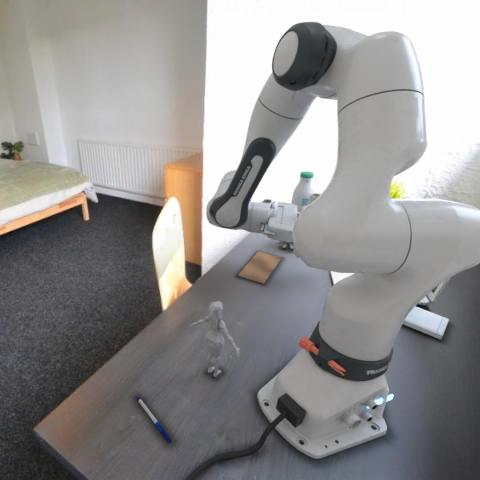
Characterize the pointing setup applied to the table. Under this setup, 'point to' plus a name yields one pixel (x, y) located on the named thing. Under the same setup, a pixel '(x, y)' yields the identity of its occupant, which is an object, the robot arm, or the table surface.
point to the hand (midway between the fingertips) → (314, 224)
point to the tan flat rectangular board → (260, 267)
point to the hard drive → (426, 322)
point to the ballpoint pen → (154, 420)
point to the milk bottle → (303, 190)
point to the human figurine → (216, 335)
